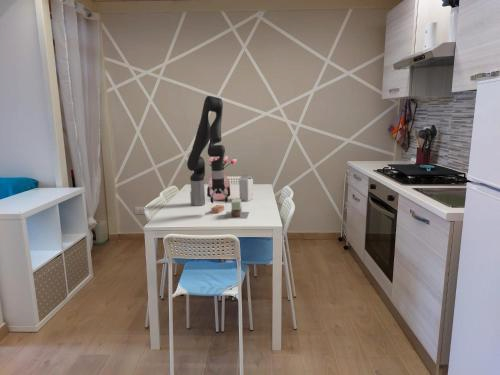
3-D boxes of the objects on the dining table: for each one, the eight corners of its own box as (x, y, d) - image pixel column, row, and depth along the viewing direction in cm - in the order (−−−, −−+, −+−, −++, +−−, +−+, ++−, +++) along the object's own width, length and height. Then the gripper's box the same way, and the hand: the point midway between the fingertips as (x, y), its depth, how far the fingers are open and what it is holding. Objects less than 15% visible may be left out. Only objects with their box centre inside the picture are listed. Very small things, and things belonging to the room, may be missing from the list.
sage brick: (231, 209, 215) (231, 202, 214) (233, 206, 223) (232, 198, 222) (240, 209, 215) (239, 202, 214) (241, 206, 223) (241, 198, 222)
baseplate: (223, 220, 214) (223, 218, 214) (227, 214, 228) (227, 211, 227) (246, 221, 213) (246, 218, 212) (249, 214, 226) (249, 211, 226)
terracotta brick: (211, 215, 226) (211, 208, 226) (217, 211, 234) (216, 205, 233) (218, 215, 225) (218, 208, 224) (224, 212, 232) (224, 205, 231)
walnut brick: (231, 216, 216) (231, 209, 215) (233, 213, 224) (233, 206, 223) (239, 216, 216) (239, 209, 215) (241, 213, 223) (241, 206, 222)
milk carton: (248, 201, 258) (247, 175, 254) (239, 200, 262) (238, 174, 258) (253, 199, 264) (252, 173, 260) (245, 198, 268) (244, 172, 264)
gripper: (205, 178, 222) (207, 204, 225) (228, 178, 221) (229, 204, 224) (207, 176, 229) (209, 201, 232) (230, 176, 228) (231, 201, 231)
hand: (219, 202), depth 228 cm, fingers open, 8 cm apart
